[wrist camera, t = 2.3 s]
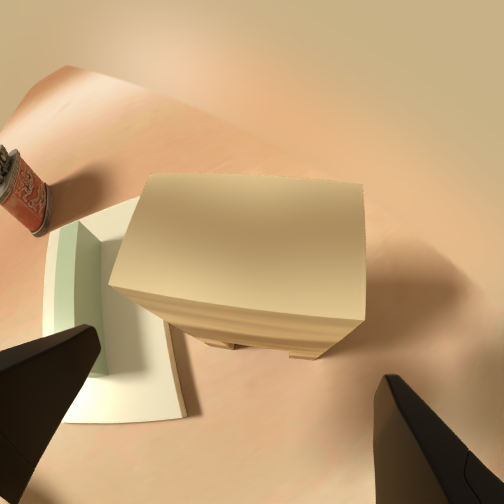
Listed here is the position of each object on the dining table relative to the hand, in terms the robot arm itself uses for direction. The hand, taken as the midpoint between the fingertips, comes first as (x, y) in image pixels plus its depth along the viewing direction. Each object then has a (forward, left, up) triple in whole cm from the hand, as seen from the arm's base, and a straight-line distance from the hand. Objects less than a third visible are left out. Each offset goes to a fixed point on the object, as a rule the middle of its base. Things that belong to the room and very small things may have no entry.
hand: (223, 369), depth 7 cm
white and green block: (+9, +10, -10) cm, 17 cm away
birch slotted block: (+3, -2, -10) cm, 11 cm away
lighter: (+25, +16, -11) cm, 31 cm away
